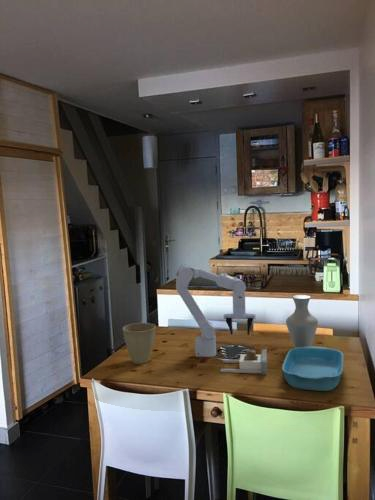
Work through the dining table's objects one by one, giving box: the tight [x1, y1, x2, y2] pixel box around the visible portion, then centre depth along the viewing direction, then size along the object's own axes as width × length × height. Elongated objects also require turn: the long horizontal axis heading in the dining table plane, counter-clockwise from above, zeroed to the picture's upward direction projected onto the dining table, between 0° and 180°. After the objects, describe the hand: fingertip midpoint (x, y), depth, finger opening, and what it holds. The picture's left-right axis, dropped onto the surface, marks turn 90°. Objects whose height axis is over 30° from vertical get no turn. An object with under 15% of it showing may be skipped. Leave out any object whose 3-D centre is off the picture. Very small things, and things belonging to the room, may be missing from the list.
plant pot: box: [122, 322, 157, 365], centre depth 199 cm, size 15×15×16 cm
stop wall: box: [261, 348, 268, 376], centre depth 182 cm, size 2×15×6 cm, turn 169°
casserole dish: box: [281, 345, 345, 392], centre depth 173 cm, size 37×22×7 cm, turn 160°
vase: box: [285, 294, 319, 348], centre depth 205 cm, size 14×14×25 cm
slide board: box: [220, 358, 262, 374], centre depth 184 cm, size 20×16×2 cm
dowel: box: [245, 349, 257, 361], centre depth 183 cm, size 4×4×7 cm
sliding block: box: [238, 353, 262, 370], centre depth 183 cm, size 9×9×4 cm
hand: (240, 334), depth 202 cm, fingers open, 7 cm apart
